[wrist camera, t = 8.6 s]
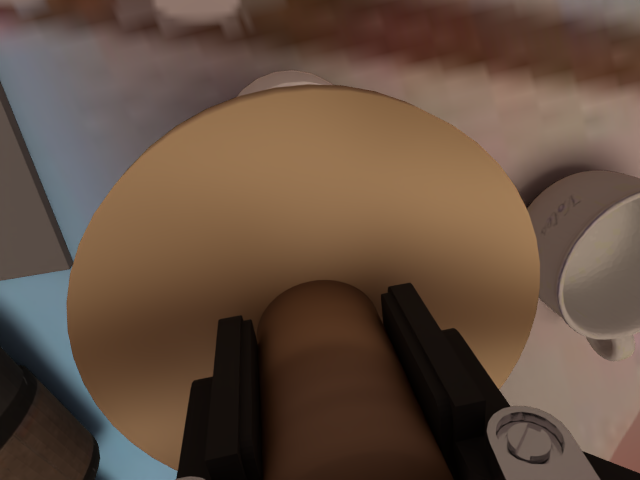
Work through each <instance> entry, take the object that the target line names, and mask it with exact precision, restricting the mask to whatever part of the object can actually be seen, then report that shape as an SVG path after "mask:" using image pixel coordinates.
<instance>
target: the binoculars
mask: <svg viewBox="0 0 640 480" xmlns="http://www.w3.org/2000/svg"><path fill="white" fill-rule="evenodd" d="M99 461H100V454H99V446H98V443H97V441H96V439H95V437H94V436H93V435H92V434H91V433H90V432H89V431H88V430H87V429H86V428H85V427H84V426H83V425H82V424H81V423H80V422H79V421H78V420H77V419H76V418H75V417H74V416H73V415H72V414H71V413H70V412H69V411H68V410H67V409H66V408H65V407H64V406H63V405H62V404H61V402H60V401H59V400H58V399H57V398H56V397H55V396H54V395H53V394H52V393H51V392H50V391H49V390H48V389H47V388H46V387H45V386H44V385H43V384H42V383H41V382H40V381H39V380H38V379H37V378H36V377H35V376H34V375H33V374H32V373H31V372H30V371H29V370H28V369H27V368H26V367H25V366H23V365H17V364H16V363H15V362H14V361H13V360H12V358H11V357H10V356H9V355H8V354H7V353H6V352H5V351H4V350H3V349H2V348H1V347H0V480H95V477H96V474H97V471H98V467H99Z"/></svg>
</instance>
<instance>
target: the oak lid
mask: <svg viewBox="0 0 640 480" xmlns="http://www.w3.org/2000/svg"><path fill="white" fill-rule="evenodd" d="M404 283H411V284H412V285H413V286H414V288H415V290H416V291H417V293H418V294H419V296H420V297H421V299H422V301H423V302H424V304H425V305H426V307H427V308H428V310H429V312H430V313H431V315H432V316H433V318H434V319H435V321H436V323H437V324H438V326H439V327H440V329H441V330H446V329H451V328H455V329H457V330H458V332H459V333H460V334H461V335H462V337H463V338H464V340H465V341H466V343H467V344H468V346H469V347H470V349H471V350H472V351H473V353H474V354H475V356H476V357H477V359H478V360H479V362H480V363H481V364H482V366H483V367H484V369H485V370H486V372H487V373H488V375H489V376H490V378H491V379H492V380H493V382H494V383H495V385H496V386H497V388H498V389H500V388H501V386H502V385H503V384H504V382H505V381H506V380H507V378H508V377H509V375H510V373H511V371H512V370H513V368H514V366H515V365H516V363H517V361H518V360H519V358H520V356H521V353H522V351H523V349H524V346H525V344H526V342H527V340H528V337H529V335H530V331H531V328H532V324H533V321H534V318H535V314H536V310H537V303H538V297H539V290H540V260H539V253H538V246H537V239H536V235H535V232H534V229H533V225H532V222H531V219H530V216H529V213H528V211H527V209H526V207H525V205H524V203H523V201H522V199H521V197H520V195H519V193H518V191H517V189H516V187H515V186H514V184H513V183H512V181H511V180H510V179H509V177H508V176H507V175H506V173H505V172H504V170H503V169H502V168H501V166H500V165H499V164H498V163H497V162H496V161H495V160H494V159H493V158H492V157H491V156H490V155H489V154H488V153H487V152H486V151H485V150H484V149H483V148H482V147H481V146H480V145H479V144H478V143H477V142H475V141H474V140H472V139H471V138H470V137H468V136H467V135H465V134H464V133H463V132H461V131H460V130H458V129H457V128H456V127H454V126H453V125H451V124H449V123H447V122H445V121H443V120H441V119H439V118H437V117H435V116H433V115H431V114H429V113H427V112H425V111H424V110H421V109H419V108H417V107H415V106H413V105H411V104H409V103H407V102H405V101H402V100H399V99H396V98H393V97H390V96H387V95H384V94H381V93H378V92H375V91H370V90H364V89H359V88H353V87H347V86H341V85H314V84H306V85H296V86H286V87H276V88H270V89H266V90H262V91H258V92H254V93H250V94H246V95H241V96H238V97H235V98H233V99H230V100H228V101H225V102H223V103H220V104H218V105H215V106H213V107H210V108H208V109H205V110H204V111H202V112H200V113H198V114H197V115H195V116H193V117H191V118H190V119H188V120H186V121H184V122H182V123H181V124H179V125H177V126H176V127H174V128H173V129H172V130H171V131H169V132H168V133H167V134H165V135H164V136H163V137H161V138H160V139H159V140H158V141H156V142H155V143H154V144H152V145H151V146H150V147H149V148H148V149H147V150H146V151H145V152H144V153H143V154H142V155H141V156H140V157H139V158H138V159H137V160H136V161H135V162H134V163H133V164H132V165H131V166H130V168H129V169H128V170H127V171H126V172H125V173H124V174H123V176H122V177H121V178H120V179H119V180H118V182H117V183H116V184H115V185H114V186H113V188H112V189H111V191H110V192H109V194H108V195H107V196H106V198H105V199H104V201H103V202H102V203H101V205H100V206H99V208H98V209H97V211H96V212H95V213H94V215H93V217H92V219H91V221H90V223H89V225H88V227H87V229H86V231H85V233H84V235H83V237H82V239H81V241H80V243H79V246H78V250H77V253H76V256H75V260H74V263H73V266H72V270H71V273H70V280H69V288H68V296H67V324H68V334H69V339H70V344H71V348H72V353H73V358H74V360H75V363H76V365H77V368H78V370H79V373H80V375H81V378H82V381H83V383H84V385H85V386H86V388H87V390H88V391H89V393H90V395H91V397H92V398H93V400H94V402H95V403H96V405H97V406H98V408H99V409H100V410H101V411H102V412H103V414H104V415H105V416H106V417H107V419H108V420H109V421H110V422H111V424H112V425H113V426H114V427H115V428H116V429H117V430H119V431H120V432H121V433H122V434H123V435H124V436H125V437H126V438H127V439H128V440H129V441H130V442H131V443H133V444H134V445H136V446H137V447H138V448H140V449H141V450H143V451H144V452H145V453H147V454H148V455H150V456H151V457H152V458H154V459H156V460H158V461H160V462H162V463H163V464H165V465H167V466H169V467H171V468H173V469H174V470H177V471H178V466H179V460H180V453H181V447H182V440H183V434H184V428H185V421H186V415H187V408H188V402H189V395H190V389H191V385H192V382H193V381H194V380H198V379H203V378H208V377H213V369H214V359H215V349H216V338H217V328H218V320H219V319H223V318H228V317H233V316H239V315H242V317H243V320H249V319H251V320H252V323H253V327H254V331H255V335H256V339H257V344H258V362H259V391H260V421H261V450H262V479H263V480H454V479H453V477H452V475H451V472H450V470H449V468H448V466H447V464H446V461H445V459H444V457H443V455H442V453H441V450H440V448H439V446H438V444H437V442H436V439H435V437H434V435H433V433H432V431H431V428H430V426H429V424H428V422H427V420H426V417H425V415H424V413H423V411H422V409H421V406H420V404H419V402H418V400H417V398H416V395H415V393H414V391H413V389H412V387H411V384H410V382H409V380H408V378H407V376H406V373H405V371H404V369H403V367H402V365H401V362H400V360H399V358H398V356H397V354H396V351H395V349H394V347H393V345H392V343H391V340H390V338H389V336H388V334H387V332H386V329H385V327H384V325H383V317H382V305H381V294H383V293H388V287H389V286H394V285H399V284H404Z"/></svg>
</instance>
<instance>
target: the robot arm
mask: <svg viewBox="0 0 640 480" xmlns="http://www.w3.org/2000/svg"><path fill="white" fill-rule="evenodd" d="M381 305H382V317H383V325H384V327H385V329H386V332H387V334H388V336H389V338H390V340H391V343H392V345H393V347H394V349H395V351H396V354H397V356H398V358H399V360H400V362H401V365H402V367H403V369H404V371H405V373H406V376H407V378H408V380H409V382H410V384H411V387H412V389H413V391H414V393H415V395H416V398H417V400H418V402H419V404H420V406H421V409H422V411H423V413H424V415H425V417H426V420H427V422H428V424H429V426H430V428H431V431H432V433H433V435H434V437H435V439H436V442H437V444H438V446H439V448H440V450H441V453H442V455H443V457H444V459H445V461H446V464H447V466H448V468H449V470H450V472H451V475H452V477H453V479H454V480H640V473H637V472H635V471H632V470H630V469H627V468H624V467H621V466H619V465H617V464H614V463H612V462H609V461H606V460H604V459H601V458H599V457H596V456H594V455H591V454H588V453H586V452H583V451H582V450H581V449H580V447H579V445H578V444H577V442H576V441H575V439H574V438H573V436H572V434H571V433H570V431H569V430H568V429H567V428H566V427H565V426H564V424H563V423H562V422H561V421H559V420H558V419H556V418H555V417H554V416H552V415H551V414H549V413H547V412H544V411H542V410H540V409H537V408H532V407H528V406H511V407H510V405H509V404H508V402H507V401H506V399H505V398H504V396H503V395H502V393H501V392H500V391H499V389H498V388H497V386H496V385H495V383H494V382H493V380H492V379H491V378H490V376H489V375H488V373H487V372H486V370H485V369H484V367H483V366H482V364H481V363H480V362H479V360H478V359H477V357H476V356H475V354H474V353H473V351H472V350H471V349H470V347H469V346H468V344H467V343H466V341H465V340H464V338H463V337H462V335H461V334H460V333H459V332H458V330H457V329H455V328H451V329H446V330H441V329H440V327H439V326H438V324H437V323H436V321H435V319H434V318H433V316H432V315H431V313H430V312H429V310H428V308H427V307H426V305H425V304H424V302H423V301H422V299H421V297H420V296H419V294H418V293H417V291H416V290H415V288H414V286H413V285H412V284H411V283H404V284H399V285H394V286H389V287H388V293H383V294H381ZM176 480H263V479H262V450H261V421H260V391H259V362H258V344H257V339H256V335H255V331H254V327H253V323H252V320H251V319H249V320H243V317H242V315H239V316H233V317H228V318H223V319H219V320H218V328H217V338H216V349H215V359H214V369H213V377H208V378H203V379H198V380H194V381H193V382H192V385H191V389H190V395H189V402H188V408H187V415H186V421H185V428H184V434H183V440H182V447H181V453H180V460H179V466H178V473H177V479H176Z"/></svg>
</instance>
